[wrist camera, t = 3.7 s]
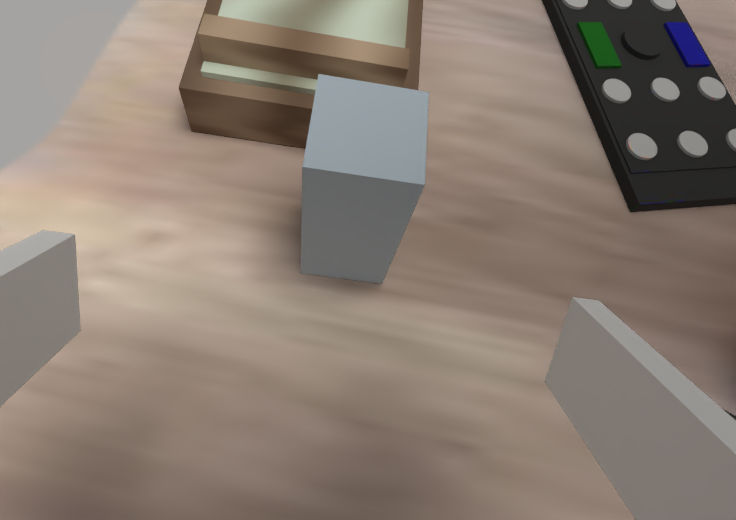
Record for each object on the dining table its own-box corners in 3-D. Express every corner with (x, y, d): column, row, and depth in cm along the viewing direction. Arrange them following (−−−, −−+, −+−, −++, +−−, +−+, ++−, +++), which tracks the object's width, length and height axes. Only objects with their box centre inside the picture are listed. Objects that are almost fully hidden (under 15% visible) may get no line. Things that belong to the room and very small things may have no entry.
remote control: (614, -75, 46) (627, -97, 44) (766, 204, 34) (793, 189, 32) (503, -80, 43) (512, -104, 42) (625, 216, 32) (645, 199, 30)
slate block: (387, 213, 29) (428, 91, 20) (381, 283, 27) (424, 184, 18) (311, 202, 28) (318, 73, 19) (300, 273, 26) (302, 166, 17)
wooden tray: (413, 9, 36) (433, -70, 31) (403, 163, 30) (425, 97, 25) (237, -22, 35) (227, -110, 30) (191, 131, 29) (168, 55, 24)
